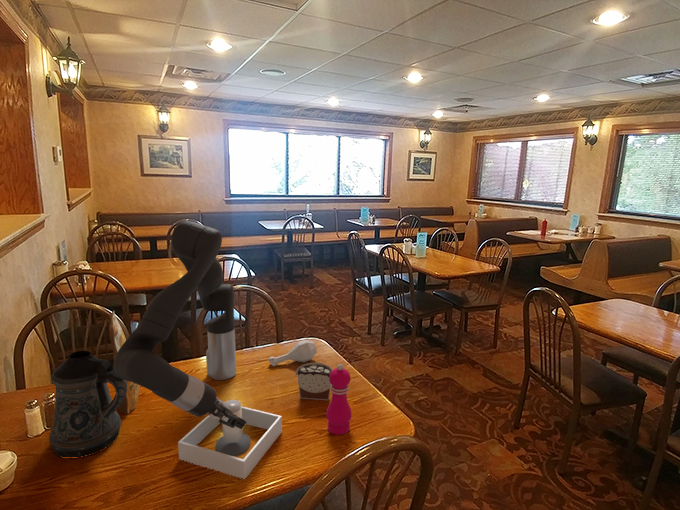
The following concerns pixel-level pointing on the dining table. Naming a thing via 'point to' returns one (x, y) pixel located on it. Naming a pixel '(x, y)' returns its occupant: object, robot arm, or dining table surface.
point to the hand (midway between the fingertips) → (238, 420)
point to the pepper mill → (339, 402)
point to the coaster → (233, 446)
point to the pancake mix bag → (116, 341)
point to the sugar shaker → (235, 433)
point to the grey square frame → (224, 461)
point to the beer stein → (85, 405)
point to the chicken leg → (297, 353)
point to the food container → (314, 381)
